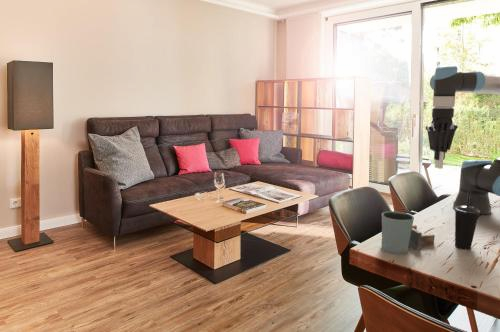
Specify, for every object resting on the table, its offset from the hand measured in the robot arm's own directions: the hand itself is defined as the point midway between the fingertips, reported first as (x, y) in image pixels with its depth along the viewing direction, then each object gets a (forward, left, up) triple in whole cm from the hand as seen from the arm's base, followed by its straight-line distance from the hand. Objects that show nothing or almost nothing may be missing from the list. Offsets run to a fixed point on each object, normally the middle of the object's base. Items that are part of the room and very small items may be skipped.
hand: (438, 167), depth 157 cm
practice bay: (+19, +15, -23) cm, 34 cm away
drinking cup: (+6, +23, -23) cm, 34 cm away
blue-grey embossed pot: (+30, +20, -24) cm, 43 cm away
